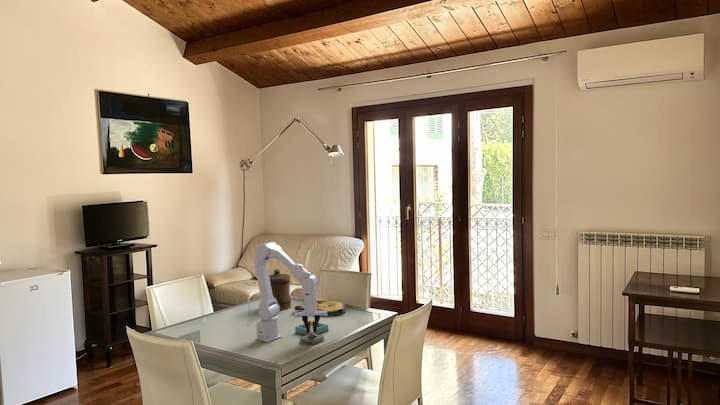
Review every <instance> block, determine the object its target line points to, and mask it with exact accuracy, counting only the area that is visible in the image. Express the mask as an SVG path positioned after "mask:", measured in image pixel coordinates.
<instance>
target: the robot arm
mask: <svg viewBox="0 0 720 405" xmlns="http://www.w3.org/2000/svg"><path fill="white" fill-rule="evenodd" d="M254 252H255V256H254V259H253V264H254V269H255V274H256V278H257V284H258V290H259V294H260V301H259V303H258V311H257V312H258V317H259V319H260V321H257V323H256V326H255V327H256V337H255V340H258V341H261V342H265V343H268V342H272V341H274V340H277V339H280V338H283V335H281V334H279V322H278V320H279V318H278V317H279V316H278V315H279V313H280V312H281V310H280V307H279V305H278V303H277V300H276V299H275V298H274V297H273V294H272V289H271V284H270V278H269V275H270V273H269V269H268V262H269V261H270V259H277V261H279V262H281V263H282V265H284V266H285V267H287V268H288V269H289V272H290V274H291V275H292V276H293V277H294V278H295V279H296V280H297V281H298V282H299V283H300V285H301V288H302V290H303V306H304V311H297V312H294V314H293V315H294V319H297V318H302V319H301V320H302V322H303V324H305V326H306V330H307V333H309V328H308V321H309V318H312V317H314V319H313V321H314V322H315V327H314V333H316V329H317V325H318V323H320V322H319V321H320V320H321V317H328V316H327V311H317V303H318V295H317V294H318V293H317V292H318V290H317V286H318V285H319V278H318V277H317V276H316V274H314V273H311V272H308V270H307V269H305V268H304V265H303V264H302V263H301V264H300V263H295V262H294V261H293V259H292V258H290V256H288V254H287V253H285V252H284V251H283V249H282V247H281V246H280V245H278V243H277V242H275V241H269V242H266V243H260V244H259V245H258V246H257V247H256V249H255V250H254Z"/></svg>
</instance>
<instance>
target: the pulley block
mask: <svg viewBox="0 0 720 405" xmlns="http://www.w3.org/2000/svg"><path fill="white" fill-rule="evenodd" d="M346 306H350V304H349V303H348V304H345V302H339V301H327V302H326V301H325V302H317V311H327V316H326V317H335V315H336V316H340V315H344V313H345V312H346V309H347V308H346ZM293 309H294V311H297V312H303V311H304V304H303V305H296V306H294V307H293Z"/></svg>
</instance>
